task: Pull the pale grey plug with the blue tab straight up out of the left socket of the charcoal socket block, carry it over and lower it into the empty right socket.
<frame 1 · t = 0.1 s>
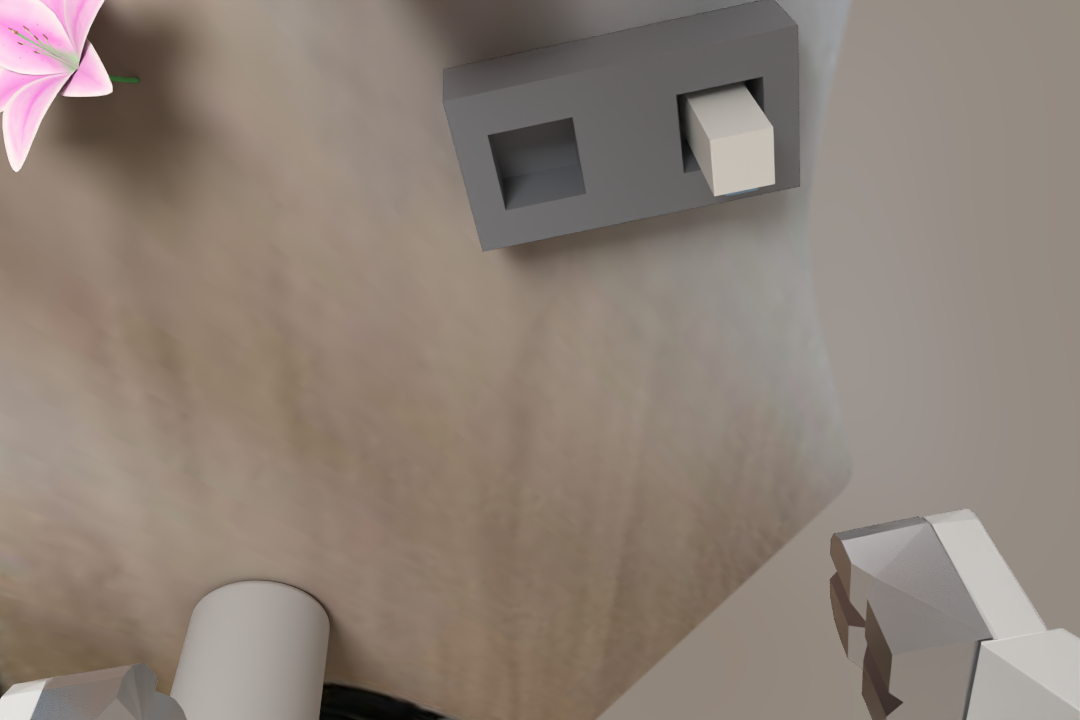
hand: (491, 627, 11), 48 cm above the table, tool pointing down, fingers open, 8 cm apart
plug: (706, 98, 57), point 1 cm above the table, touching socket block
cylinder vase: (263, 617, 86), on the table
socket block: (617, 112, 57), on the table
lily: (78, 21, 52), on the table
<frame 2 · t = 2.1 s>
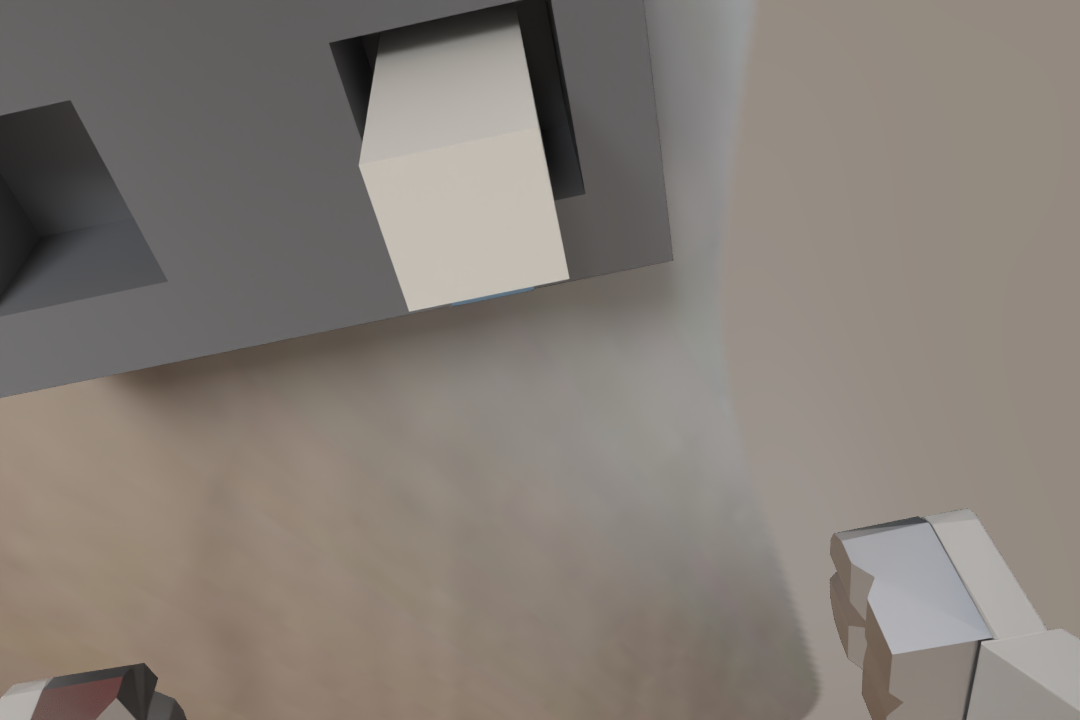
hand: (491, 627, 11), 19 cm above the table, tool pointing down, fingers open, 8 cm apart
plug: (462, 59, 25), point 1 cm above the table, touching socket block
socket block: (272, 90, 26), on the table
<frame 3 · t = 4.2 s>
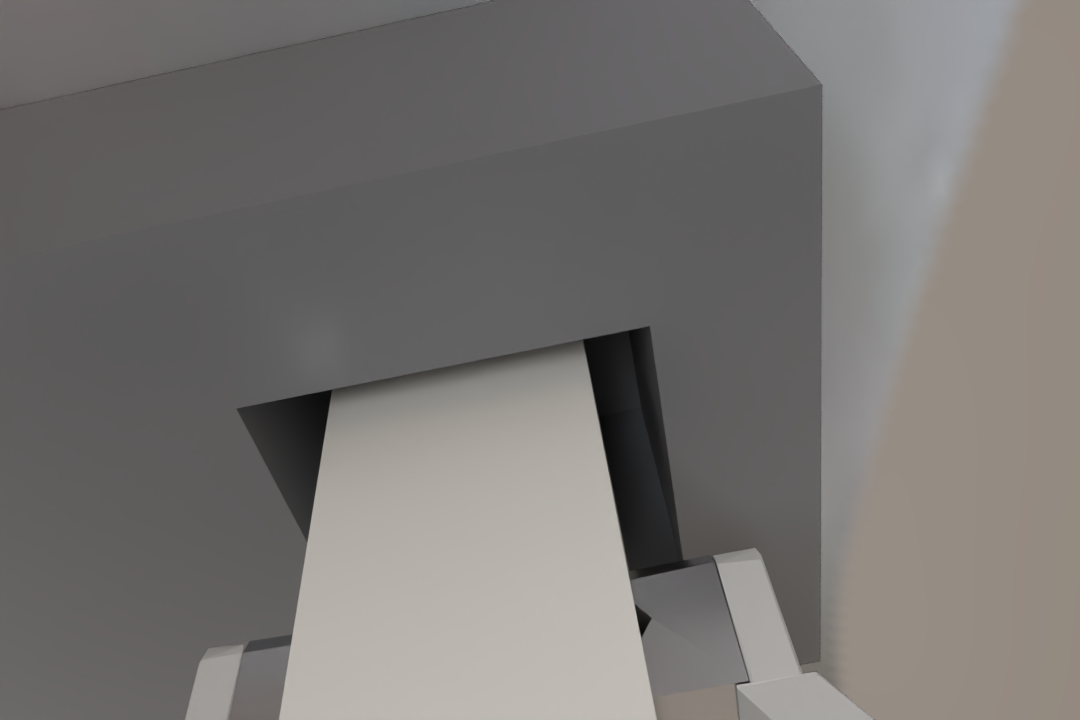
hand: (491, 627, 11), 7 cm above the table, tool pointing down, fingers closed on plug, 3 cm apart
plug: (479, 328, 16), point 1 cm above the table, touching gripper, socket block
socket block: (181, 362, 16), on the table
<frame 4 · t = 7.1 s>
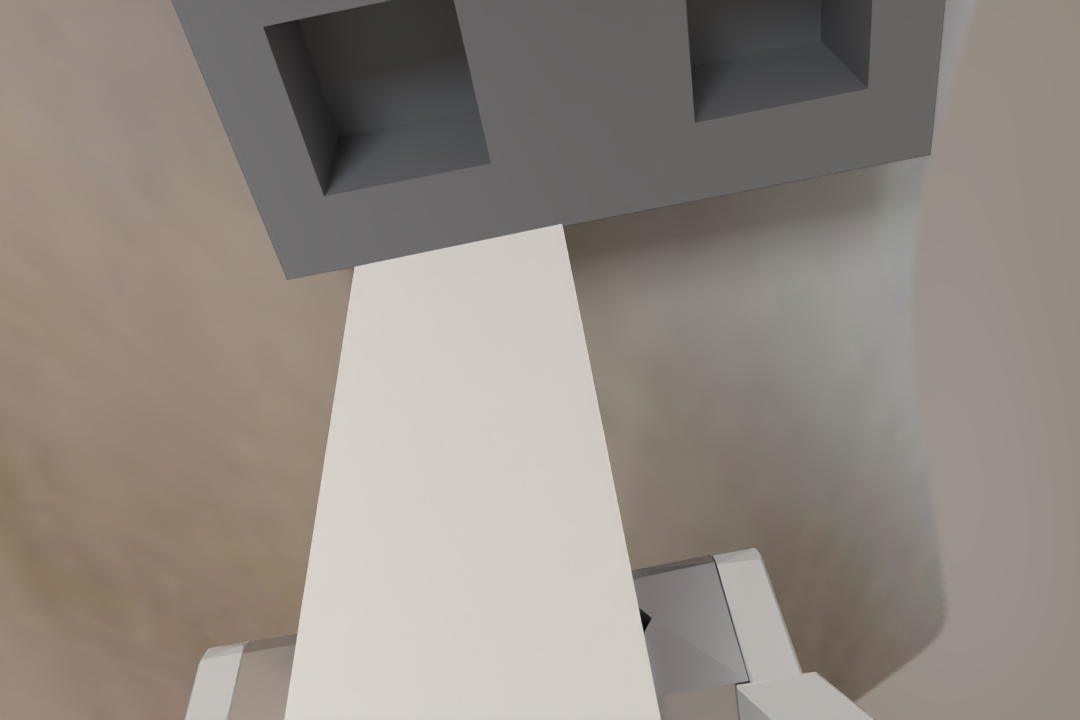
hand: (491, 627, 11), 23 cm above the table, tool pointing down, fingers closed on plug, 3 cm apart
plug: (481, 329, 16), point 17 cm above the table, touching gripper
socket block: (562, 4, 29), on the table
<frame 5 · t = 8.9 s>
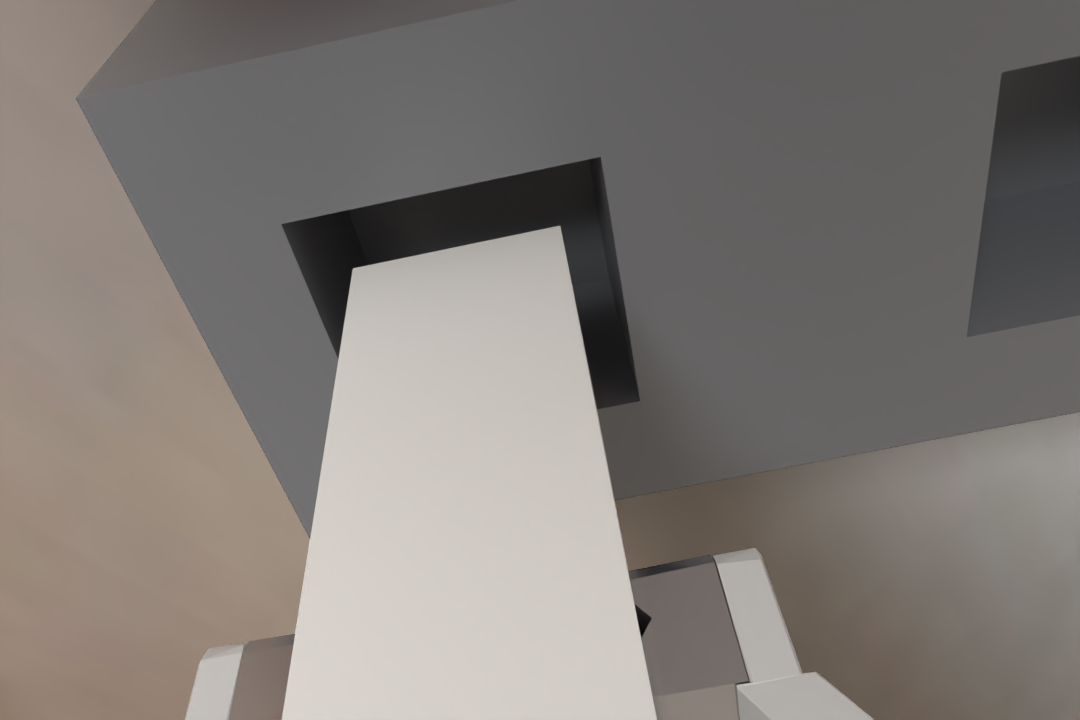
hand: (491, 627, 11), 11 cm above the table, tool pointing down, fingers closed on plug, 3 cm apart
plug: (479, 331, 16), point 5 cm above the table, touching gripper
socket block: (727, 129, 19), on the table
when the fingers open (8 cm above the table, at t = 10.1 s): plug drops 1 cm, resting on socket block.
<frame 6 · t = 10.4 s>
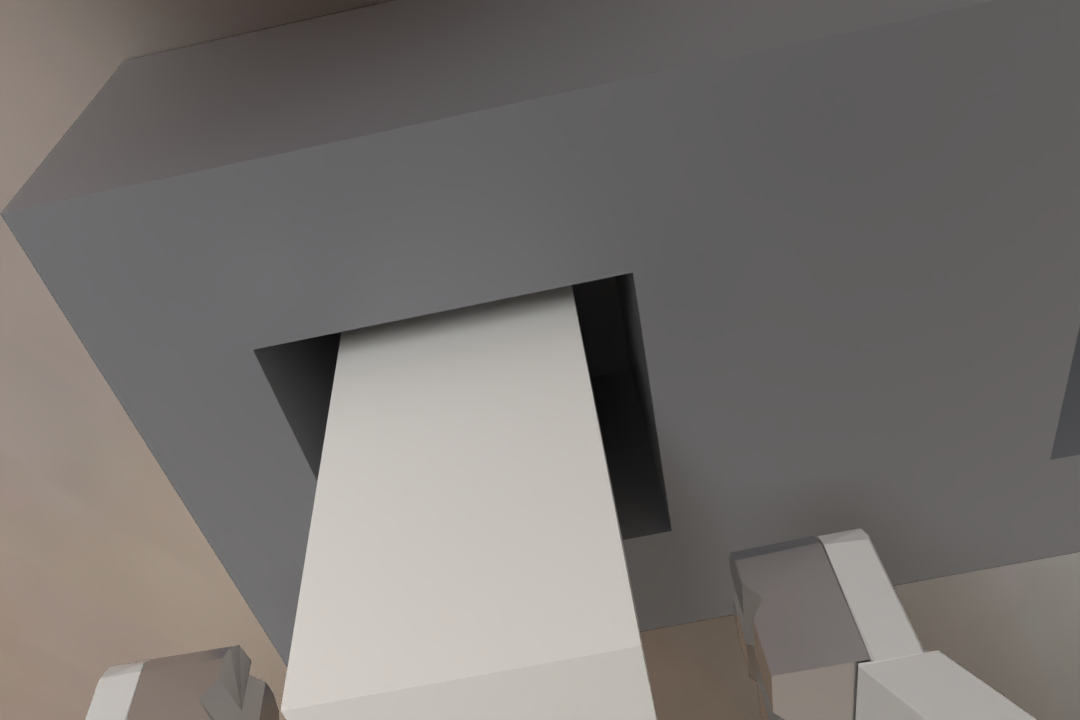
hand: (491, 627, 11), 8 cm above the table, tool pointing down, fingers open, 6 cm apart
plug: (477, 291, 17), point 1 cm above the table, touching socket block
socket block: (766, 207, 17), on the table
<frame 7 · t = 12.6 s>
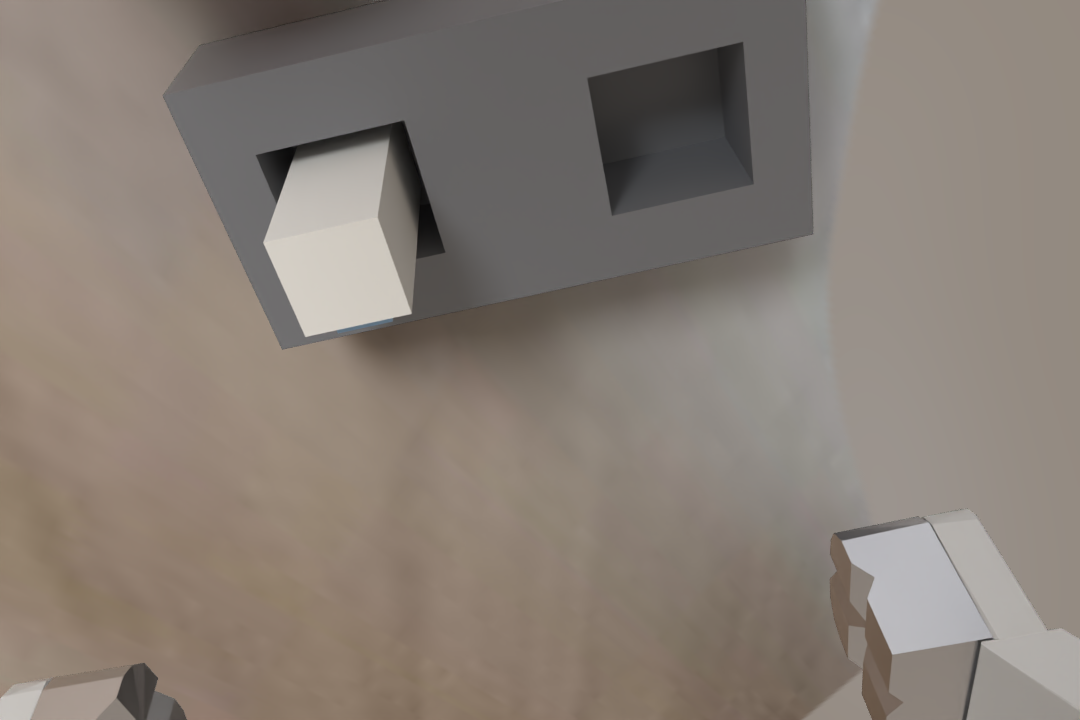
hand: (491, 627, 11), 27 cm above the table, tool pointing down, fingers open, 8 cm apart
plug: (364, 155, 34), point 1 cm above the table, touching socket block
socket block: (506, 114, 35), on the table
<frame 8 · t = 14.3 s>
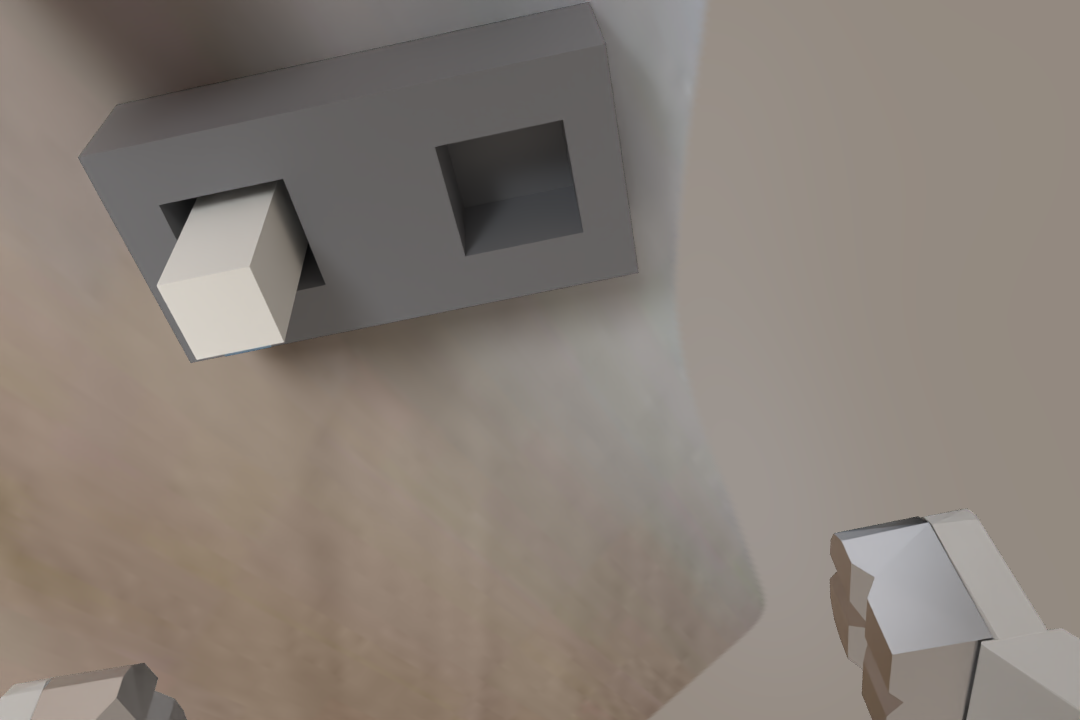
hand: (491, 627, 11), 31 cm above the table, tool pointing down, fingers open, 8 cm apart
plug: (262, 197, 40), point 1 cm above the table, touching socket block
socket block: (384, 164, 40), on the table
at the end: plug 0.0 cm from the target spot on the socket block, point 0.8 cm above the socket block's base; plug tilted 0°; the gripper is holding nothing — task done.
